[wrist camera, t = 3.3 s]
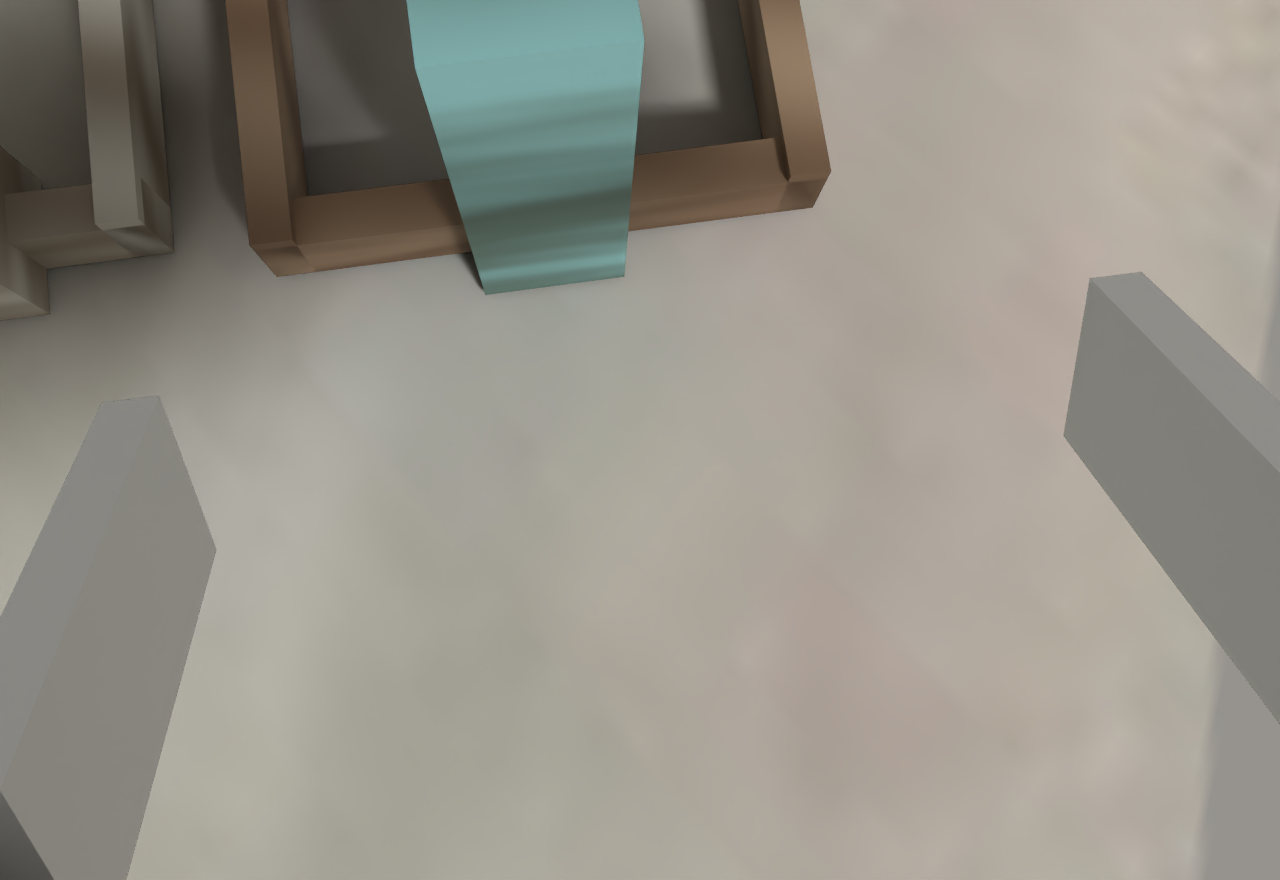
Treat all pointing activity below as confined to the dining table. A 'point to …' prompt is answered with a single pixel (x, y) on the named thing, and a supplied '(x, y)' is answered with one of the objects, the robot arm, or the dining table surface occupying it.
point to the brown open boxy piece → (523, 143)
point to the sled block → (94, 167)
